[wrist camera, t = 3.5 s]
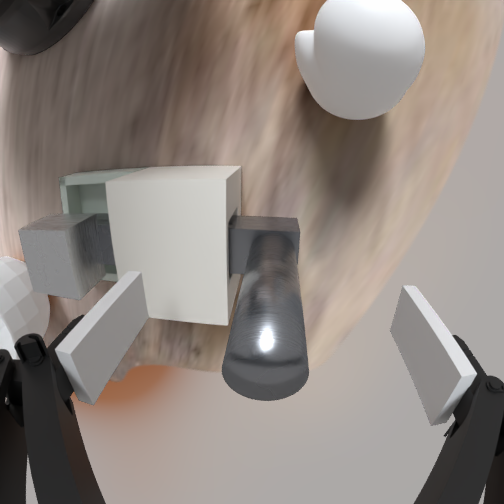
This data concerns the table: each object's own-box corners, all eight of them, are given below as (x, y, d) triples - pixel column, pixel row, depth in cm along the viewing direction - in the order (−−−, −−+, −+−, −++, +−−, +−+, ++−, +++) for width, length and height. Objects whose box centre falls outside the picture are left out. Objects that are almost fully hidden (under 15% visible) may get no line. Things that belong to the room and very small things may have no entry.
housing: (158, 271, 28) (125, 314, 21) (150, 167, 24) (105, 181, 17) (240, 276, 27) (228, 325, 20) (241, 165, 24) (226, 179, 17)
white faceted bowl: (-5, 242, 29) (-52, 272, 20) (49, 242, 28) (-7, 280, 19) (20, 319, 34) (-17, 355, 25) (76, 331, 33) (37, 379, 24)
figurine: (359, 29, 18) (415, -35, 7) (397, 108, 20) (481, 97, 9) (283, 51, 20) (287, -16, 9) (322, 133, 22) (364, 131, 11)
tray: (89, 265, 29) (75, 277, 26) (76, 172, 25) (59, 177, 22) (157, 271, 28) (146, 284, 25) (148, 167, 24) (134, 171, 22)
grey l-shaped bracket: (71, 246, 24) (-33, 325, 12) (65, 213, 23) (-50, 281, 10) (294, 258, 23) (307, 403, 10) (297, 218, 22) (321, 341, 9)
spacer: (61, 269, 22) (33, 291, 18) (50, 214, 20) (18, 230, 16) (106, 274, 21) (79, 300, 18) (96, 213, 20) (64, 230, 16)
